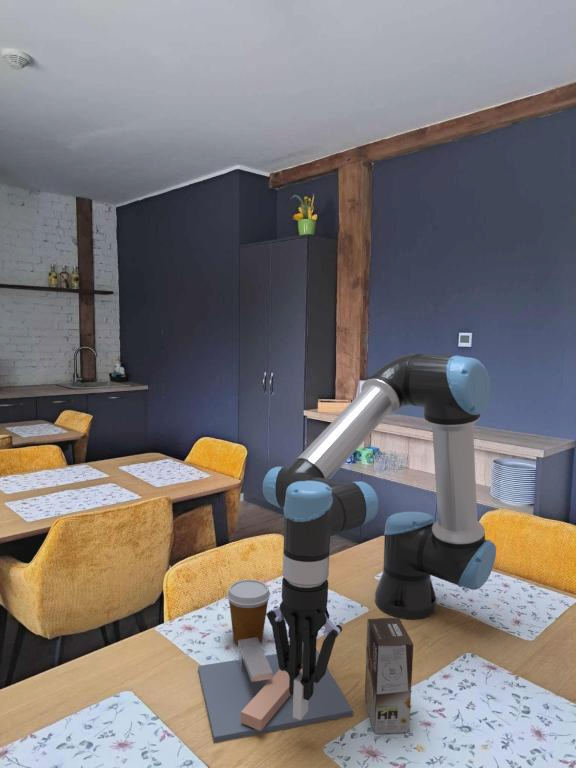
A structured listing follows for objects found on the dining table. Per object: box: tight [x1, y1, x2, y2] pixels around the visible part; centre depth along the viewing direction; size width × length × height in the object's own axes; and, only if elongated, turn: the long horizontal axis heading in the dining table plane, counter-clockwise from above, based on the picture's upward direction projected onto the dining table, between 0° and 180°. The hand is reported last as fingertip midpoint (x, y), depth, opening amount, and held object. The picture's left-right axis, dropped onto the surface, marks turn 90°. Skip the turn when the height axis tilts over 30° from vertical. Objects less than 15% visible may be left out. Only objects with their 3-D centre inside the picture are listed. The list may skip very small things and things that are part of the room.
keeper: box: [237, 637, 273, 682], centre depth 107 cm, size 4×12×6 cm, turn 17°
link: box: [241, 642, 304, 731], centre depth 103 cm, size 21×5×5 cm, turn 152°
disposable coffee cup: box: [226, 579, 272, 647], centre depth 121 cm, size 10×10×12 cm
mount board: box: [197, 648, 354, 744], centre depth 105 cm, size 25×20×1 cm
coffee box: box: [364, 617, 414, 735], centre depth 99 cm, size 9×6×16 cm
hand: (300, 713), depth 92 cm, fingers closed
